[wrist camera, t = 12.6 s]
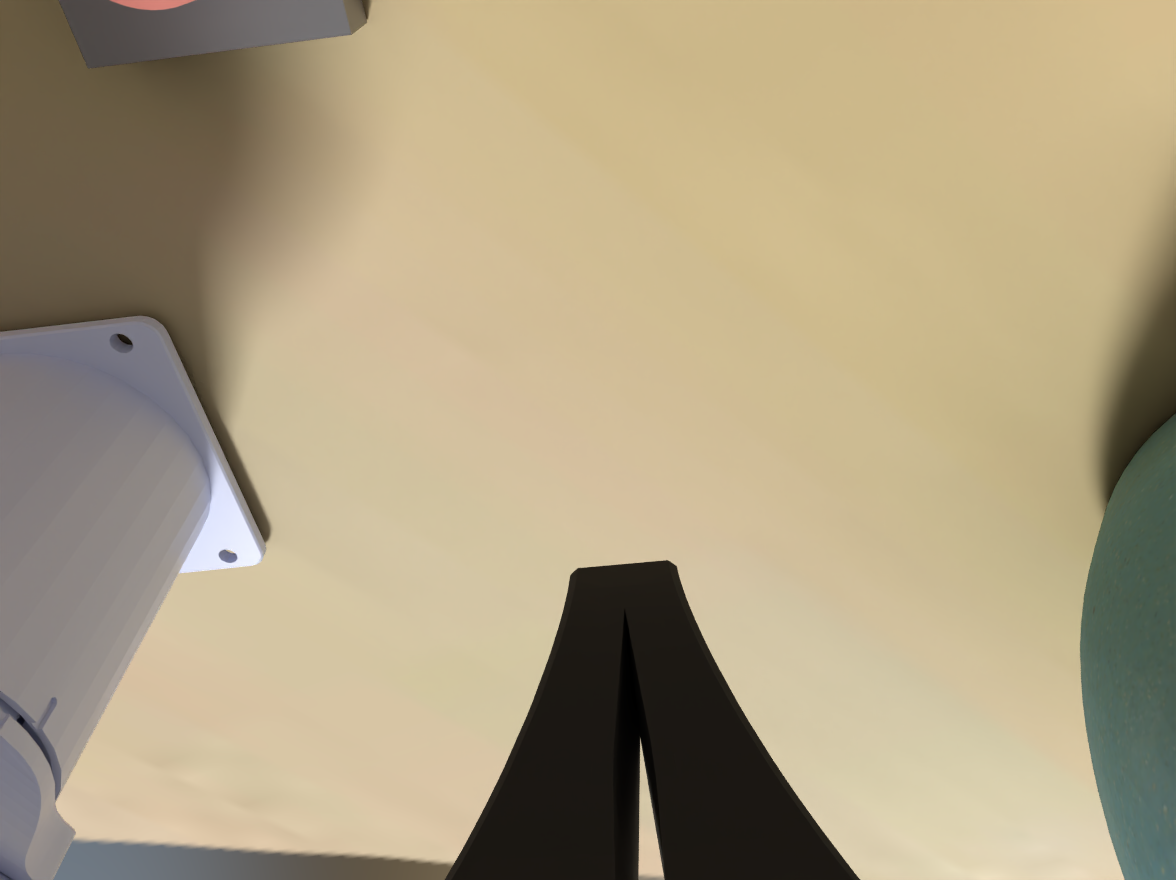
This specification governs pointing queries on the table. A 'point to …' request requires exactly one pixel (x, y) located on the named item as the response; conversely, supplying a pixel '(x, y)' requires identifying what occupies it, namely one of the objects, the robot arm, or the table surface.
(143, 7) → the button
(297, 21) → the button base
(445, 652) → the table surface
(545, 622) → the table surface
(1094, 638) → the teal bowl
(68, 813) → the table surface
